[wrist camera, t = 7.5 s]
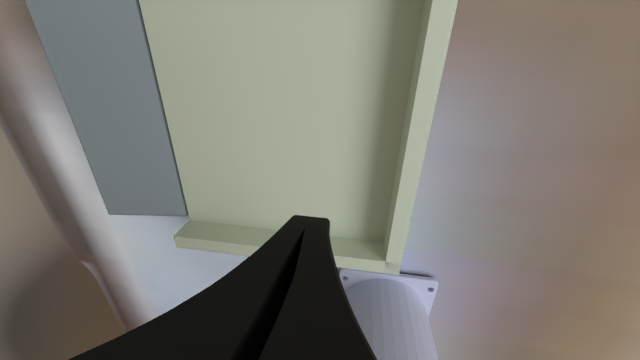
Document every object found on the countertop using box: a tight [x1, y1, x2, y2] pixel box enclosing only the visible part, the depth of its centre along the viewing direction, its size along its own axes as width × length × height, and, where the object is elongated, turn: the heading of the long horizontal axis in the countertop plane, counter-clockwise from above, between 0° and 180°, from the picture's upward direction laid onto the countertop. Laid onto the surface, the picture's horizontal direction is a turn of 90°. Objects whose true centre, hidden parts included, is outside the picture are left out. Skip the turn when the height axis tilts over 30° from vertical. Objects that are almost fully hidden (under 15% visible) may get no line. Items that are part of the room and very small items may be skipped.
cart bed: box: [139, 0, 458, 275], centre depth 16 cm, size 18×16×4 cm
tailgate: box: [25, 0, 188, 216], centre depth 18 cm, size 15×2×6 cm
